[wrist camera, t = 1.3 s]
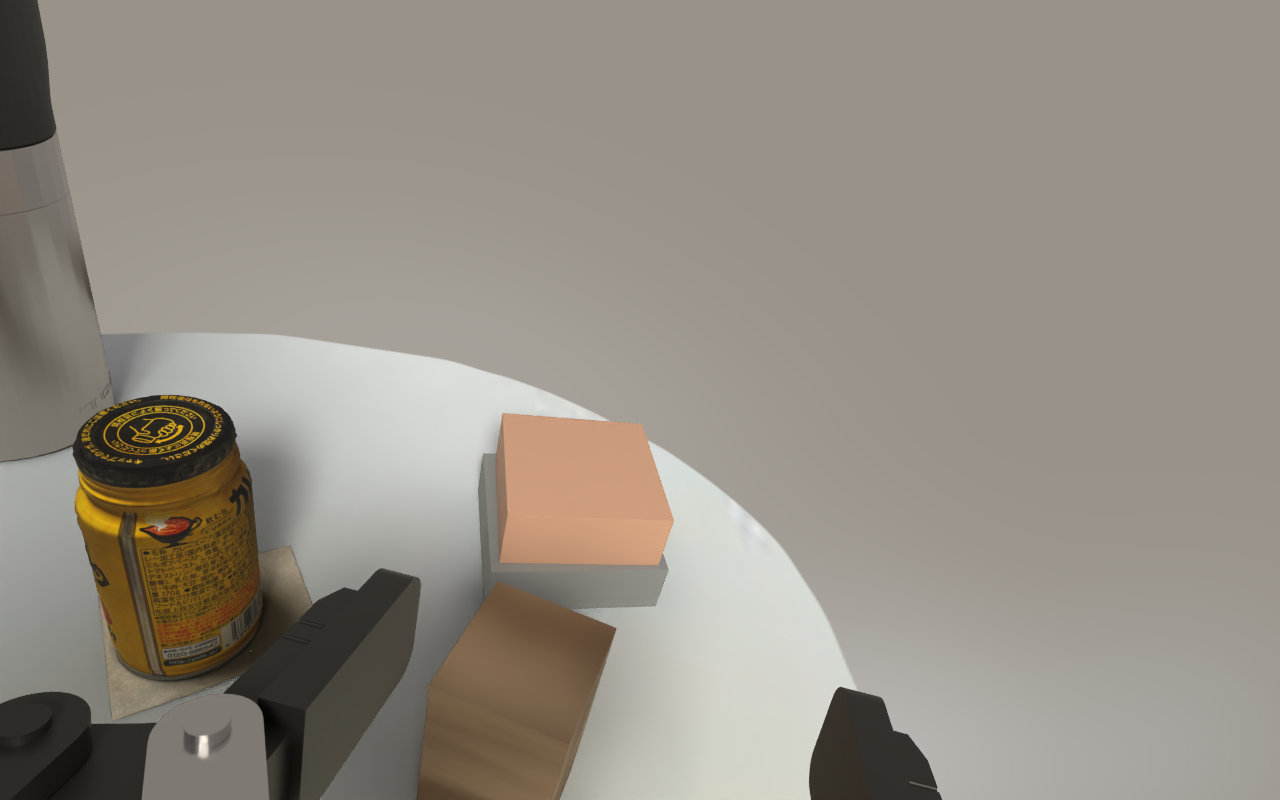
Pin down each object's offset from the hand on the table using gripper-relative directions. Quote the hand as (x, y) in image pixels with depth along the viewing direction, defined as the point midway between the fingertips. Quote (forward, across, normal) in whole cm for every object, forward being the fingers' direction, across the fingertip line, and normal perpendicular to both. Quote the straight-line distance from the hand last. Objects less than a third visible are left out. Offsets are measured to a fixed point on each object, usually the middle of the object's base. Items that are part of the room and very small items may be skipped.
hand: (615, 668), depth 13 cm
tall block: (+12, +4, +18) cm, 21 cm away
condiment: (+15, +20, +16) cm, 30 cm away
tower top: (+26, +5, +11) cm, 29 cm away
